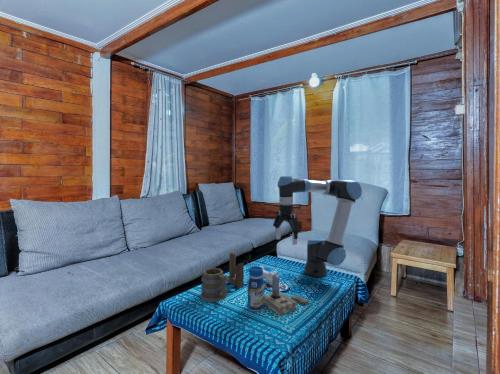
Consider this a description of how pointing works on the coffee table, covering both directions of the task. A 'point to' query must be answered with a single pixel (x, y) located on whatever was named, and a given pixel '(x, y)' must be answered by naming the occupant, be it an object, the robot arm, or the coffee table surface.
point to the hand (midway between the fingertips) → (286, 241)
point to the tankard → (213, 285)
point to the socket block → (280, 303)
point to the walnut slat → (299, 300)
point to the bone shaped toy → (268, 275)
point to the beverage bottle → (255, 289)
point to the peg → (275, 287)
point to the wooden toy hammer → (235, 272)
